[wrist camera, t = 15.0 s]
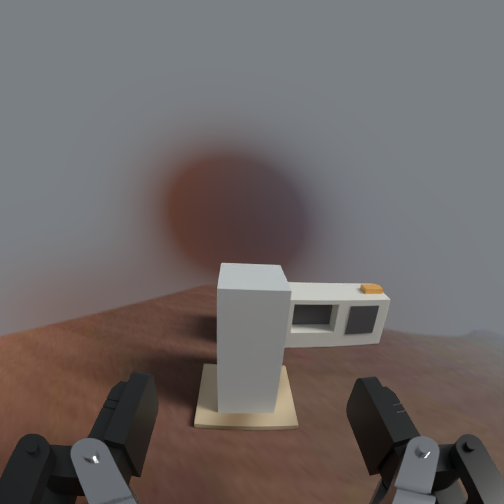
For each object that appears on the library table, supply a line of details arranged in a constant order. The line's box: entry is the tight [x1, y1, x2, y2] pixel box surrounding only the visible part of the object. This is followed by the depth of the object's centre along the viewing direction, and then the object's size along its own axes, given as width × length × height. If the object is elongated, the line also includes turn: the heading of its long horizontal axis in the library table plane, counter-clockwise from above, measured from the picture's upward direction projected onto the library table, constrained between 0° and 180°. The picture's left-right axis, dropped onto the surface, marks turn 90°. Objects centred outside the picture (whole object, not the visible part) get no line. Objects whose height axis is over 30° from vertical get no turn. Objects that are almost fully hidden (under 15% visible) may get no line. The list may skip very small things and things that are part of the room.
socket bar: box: [284, 282, 390, 348], centre depth 32 cm, size 18×5×7 cm, turn 92°
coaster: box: [194, 364, 298, 430], centre depth 22 cm, size 8×8×1 cm
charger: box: [217, 263, 292, 414], centre depth 22 cm, size 4×7×11 cm, turn 3°
